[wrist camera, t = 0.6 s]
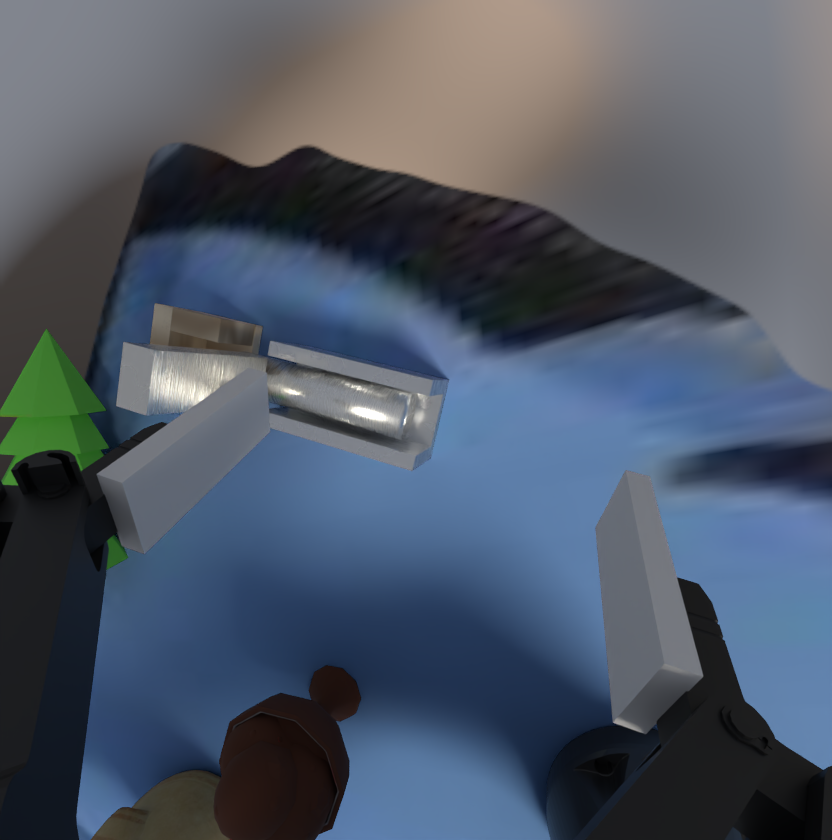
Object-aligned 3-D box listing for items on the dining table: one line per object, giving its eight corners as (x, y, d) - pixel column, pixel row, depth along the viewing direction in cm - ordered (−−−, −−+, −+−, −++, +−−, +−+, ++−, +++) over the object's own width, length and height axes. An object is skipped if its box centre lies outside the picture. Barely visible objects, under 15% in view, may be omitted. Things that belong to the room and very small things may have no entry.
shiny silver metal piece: (408, 437, 37) (325, 473, 23) (251, 393, 42) (100, 400, 28) (418, 392, 37) (339, 400, 23) (258, 351, 41) (107, 337, 27)
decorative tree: (-27, 634, 43) (-61, 323, 39) (100, 584, 53) (83, 333, 50) (30, 674, 38) (-2, 322, 34) (158, 610, 48) (145, 332, 44)
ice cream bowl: (268, 667, 46) (140, 799, 31) (347, 621, 42) (244, 745, 28) (323, 759, 45) (217, 938, 30) (408, 719, 41) (334, 898, 27)
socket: (248, 413, 43) (207, 418, 38) (190, 395, 45) (143, 398, 40) (262, 326, 42) (222, 319, 37) (201, 312, 44) (155, 303, 39)
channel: (430, 458, 38) (412, 471, 33) (292, 418, 42) (256, 423, 37) (449, 380, 37) (433, 380, 32) (305, 345, 41) (270, 340, 36)
